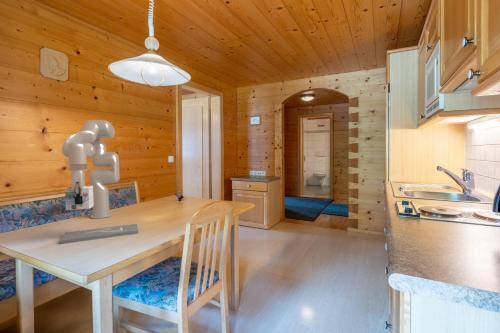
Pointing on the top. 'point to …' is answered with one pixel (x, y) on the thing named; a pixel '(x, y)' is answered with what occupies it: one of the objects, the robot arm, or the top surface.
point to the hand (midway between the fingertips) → (80, 202)
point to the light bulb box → (86, 195)
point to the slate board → (99, 233)
